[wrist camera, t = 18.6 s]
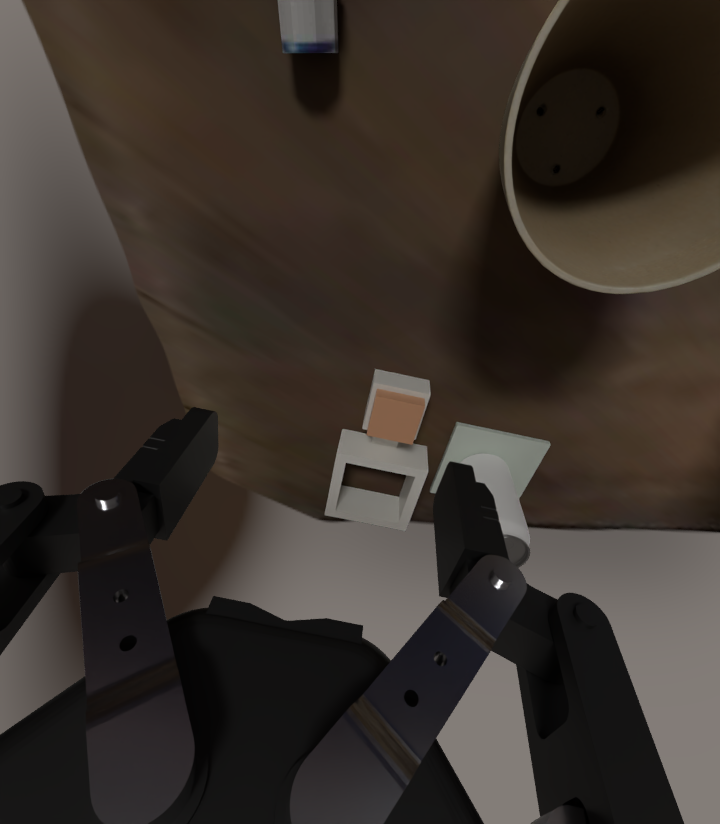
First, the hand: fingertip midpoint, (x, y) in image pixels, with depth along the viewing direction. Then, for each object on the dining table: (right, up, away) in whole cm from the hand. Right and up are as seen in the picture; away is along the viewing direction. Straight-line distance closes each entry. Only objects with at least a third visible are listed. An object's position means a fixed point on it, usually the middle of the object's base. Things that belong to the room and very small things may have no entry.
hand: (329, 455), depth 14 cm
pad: (+17, -5, +35) cm, 39 cm away
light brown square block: (+5, +3, +31) cm, 32 cm away
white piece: (+4, -2, +35) cm, 35 cm away
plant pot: (+17, +23, +17) cm, 33 cm away
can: (+16, -6, +35) cm, 39 cm away
